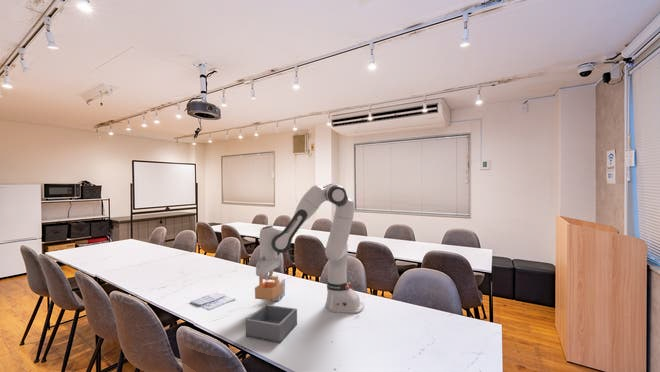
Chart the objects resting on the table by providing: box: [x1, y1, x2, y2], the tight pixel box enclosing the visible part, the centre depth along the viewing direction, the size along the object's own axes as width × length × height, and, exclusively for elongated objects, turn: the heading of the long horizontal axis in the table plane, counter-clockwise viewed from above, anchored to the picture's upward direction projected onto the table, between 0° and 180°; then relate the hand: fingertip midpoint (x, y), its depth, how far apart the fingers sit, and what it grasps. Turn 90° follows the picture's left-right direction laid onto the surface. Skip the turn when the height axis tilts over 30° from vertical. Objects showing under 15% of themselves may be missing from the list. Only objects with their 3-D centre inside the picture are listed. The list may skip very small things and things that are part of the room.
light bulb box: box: [270, 277, 286, 302], centre depth 176 cm, size 11×7×11 cm, turn 168°
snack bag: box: [189, 291, 237, 311], centre depth 171 cm, size 19×20×2 cm
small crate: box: [254, 275, 283, 302], centre depth 157 cm, size 11×11×11 cm
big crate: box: [244, 304, 298, 344], centre depth 135 cm, size 18×18×8 cm
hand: (268, 279), depth 157 cm, fingers closed on small crate
